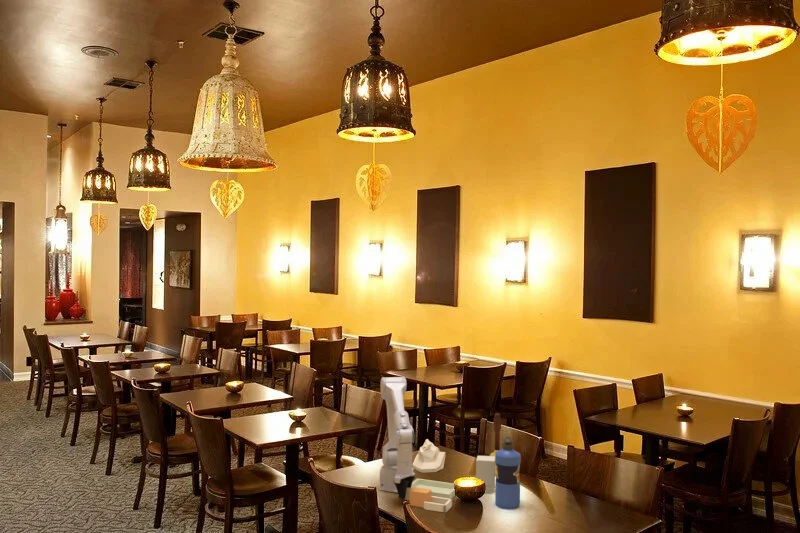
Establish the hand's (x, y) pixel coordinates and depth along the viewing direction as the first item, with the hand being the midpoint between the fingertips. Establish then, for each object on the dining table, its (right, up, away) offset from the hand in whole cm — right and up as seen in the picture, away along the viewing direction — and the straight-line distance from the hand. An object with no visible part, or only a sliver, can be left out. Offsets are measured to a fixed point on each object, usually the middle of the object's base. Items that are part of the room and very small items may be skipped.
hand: (404, 496), depth 246 cm
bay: (+12, -2, -5) cm, 13 cm away
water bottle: (+38, -3, -2) cm, 39 cm away
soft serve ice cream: (+11, -3, +42) cm, 43 cm away
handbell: (+41, -3, +39) cm, 57 cm away
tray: (+11, -2, +11) cm, 15 cm away
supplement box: (+32, -3, +15) cm, 36 cm away
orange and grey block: (+4, -2, -2) cm, 5 cm away
